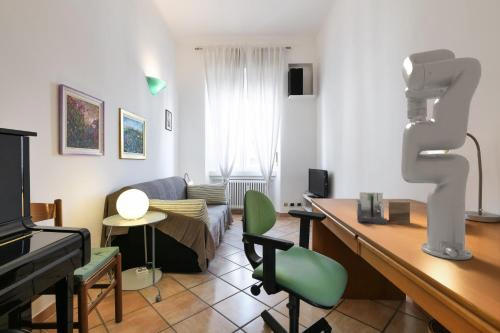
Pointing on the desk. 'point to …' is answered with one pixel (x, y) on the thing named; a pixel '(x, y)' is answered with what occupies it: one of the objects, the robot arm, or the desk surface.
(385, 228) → the desk surface
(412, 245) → the desk surface
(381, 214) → the plate
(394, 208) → the push block
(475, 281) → the desk surface
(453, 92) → the robot arm
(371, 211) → the dark flat plank
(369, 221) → the stand
